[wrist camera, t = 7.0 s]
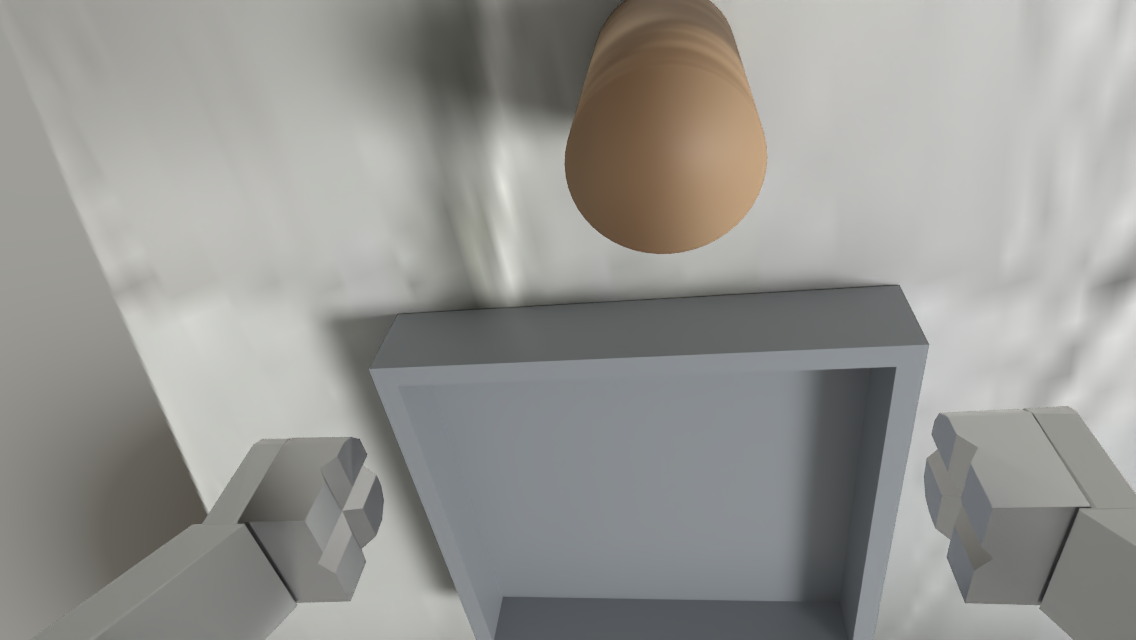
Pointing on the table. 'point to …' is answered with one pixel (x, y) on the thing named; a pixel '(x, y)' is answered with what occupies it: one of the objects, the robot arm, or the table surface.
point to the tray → (662, 460)
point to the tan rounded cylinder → (665, 129)
